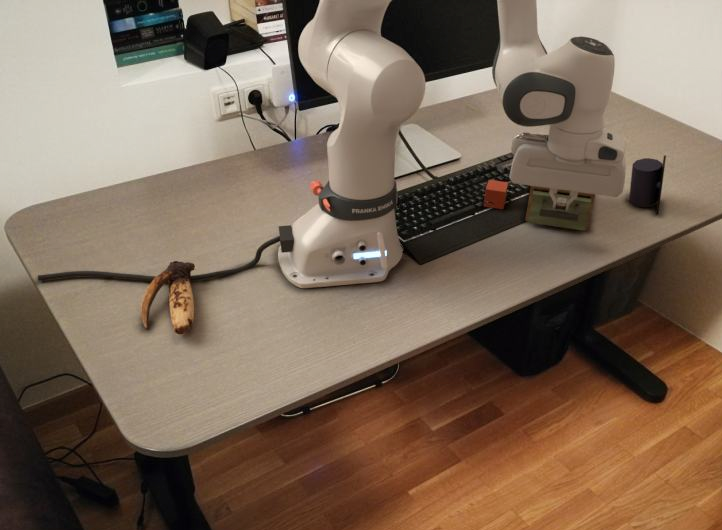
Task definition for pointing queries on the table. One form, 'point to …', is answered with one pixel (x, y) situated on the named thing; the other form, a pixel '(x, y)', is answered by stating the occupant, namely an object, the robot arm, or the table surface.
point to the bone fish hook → (173, 296)
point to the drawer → (559, 211)
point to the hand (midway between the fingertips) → (560, 208)
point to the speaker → (646, 182)
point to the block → (496, 194)
